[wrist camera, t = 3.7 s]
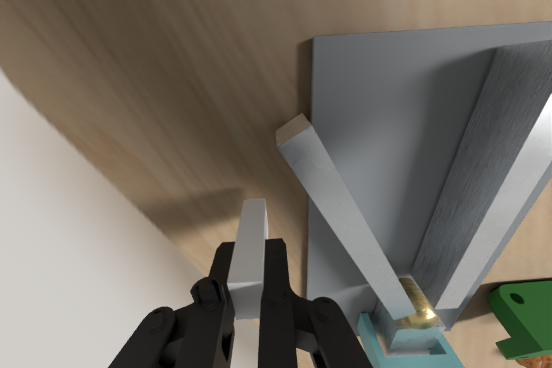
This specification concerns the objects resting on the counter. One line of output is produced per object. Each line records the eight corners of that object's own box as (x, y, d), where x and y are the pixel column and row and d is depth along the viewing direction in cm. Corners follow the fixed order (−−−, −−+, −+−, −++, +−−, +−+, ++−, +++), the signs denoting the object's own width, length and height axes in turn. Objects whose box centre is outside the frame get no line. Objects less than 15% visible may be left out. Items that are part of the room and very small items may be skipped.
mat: (312, 37, 12) (314, 36, 11) (641, 16, 12) (659, 14, 11) (305, 333, 27) (305, 338, 26) (446, 325, 27) (449, 331, 26)
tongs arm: (275, 130, 13) (276, 147, 10) (302, 112, 13) (311, 125, 10) (376, 284, 21) (394, 320, 18) (395, 277, 21) (416, 312, 18)
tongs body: (452, 48, 12) (522, 40, 8) (530, 44, 12) (632, 33, 8) (366, 335, 26) (379, 372, 23) (400, 333, 26) (418, 370, 23)
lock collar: (360, 313, 24) (393, 401, 17) (426, 309, 24) (483, 396, 17) (356, 327, 25) (385, 413, 19) (419, 323, 25) (469, 409, 19)
